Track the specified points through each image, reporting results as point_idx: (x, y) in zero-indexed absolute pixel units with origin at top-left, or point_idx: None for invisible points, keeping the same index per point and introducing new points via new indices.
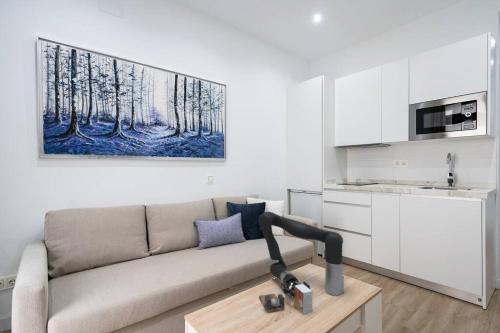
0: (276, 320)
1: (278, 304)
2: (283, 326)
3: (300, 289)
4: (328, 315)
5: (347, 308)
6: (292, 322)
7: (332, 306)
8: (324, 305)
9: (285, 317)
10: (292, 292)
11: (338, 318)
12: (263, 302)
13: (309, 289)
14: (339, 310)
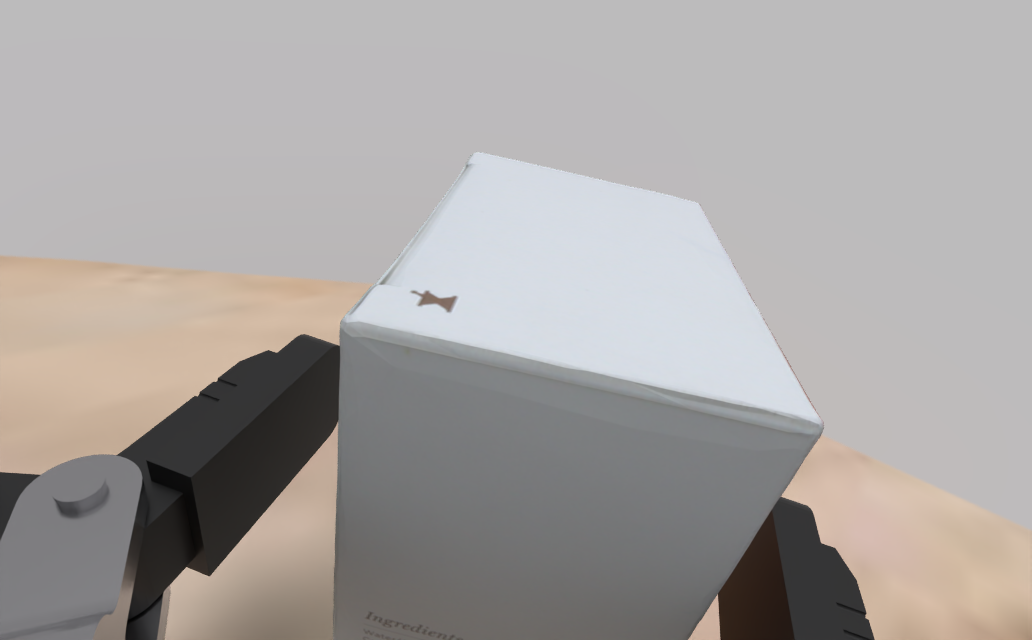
0: (1025, 627)
1: None
2: (919, 498)
3: (703, 249)
4: (331, 338)
5: (10, 277)
6: (794, 483)
7: (61, 373)
8: (102, 442)
9: (872, 600)
10: (820, 563)
11: (305, 283)
12: None
13: (481, 176)
14: (127, 308)
